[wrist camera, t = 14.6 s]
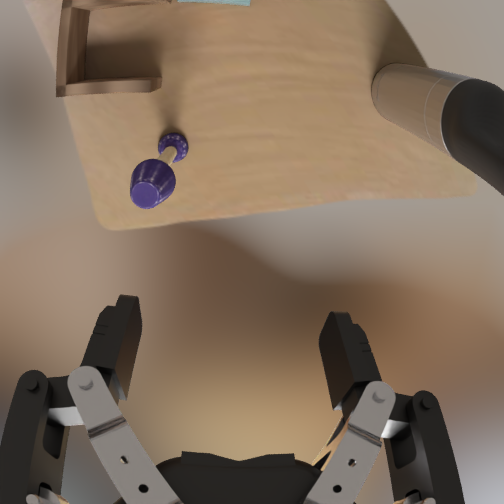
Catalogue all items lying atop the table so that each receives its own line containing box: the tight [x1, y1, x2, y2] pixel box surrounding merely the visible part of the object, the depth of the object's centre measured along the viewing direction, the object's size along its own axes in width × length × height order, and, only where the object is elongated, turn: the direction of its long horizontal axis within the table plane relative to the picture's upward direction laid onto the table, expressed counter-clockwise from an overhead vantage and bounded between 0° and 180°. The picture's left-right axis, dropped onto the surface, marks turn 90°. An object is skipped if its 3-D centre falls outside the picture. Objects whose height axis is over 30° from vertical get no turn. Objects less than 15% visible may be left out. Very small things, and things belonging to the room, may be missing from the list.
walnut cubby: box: [56, 0, 171, 97], centre depth 29 cm, size 13×14×6 cm
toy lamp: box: [130, 133, 188, 209], centre depth 34 cm, size 5×5×17 cm
